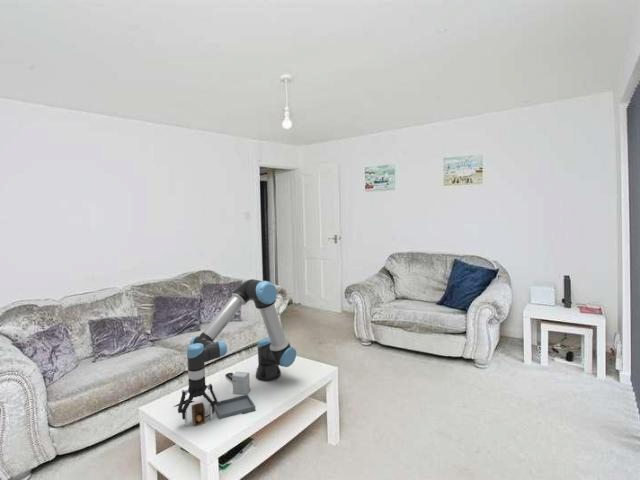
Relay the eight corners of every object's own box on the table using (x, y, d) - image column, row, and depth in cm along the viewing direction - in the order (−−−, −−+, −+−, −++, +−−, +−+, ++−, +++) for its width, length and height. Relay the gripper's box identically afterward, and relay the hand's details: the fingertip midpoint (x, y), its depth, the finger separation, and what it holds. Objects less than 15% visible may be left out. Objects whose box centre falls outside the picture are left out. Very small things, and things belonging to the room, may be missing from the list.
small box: (250, 390, 206) (249, 372, 205) (245, 395, 200) (244, 376, 200) (237, 389, 208) (236, 371, 207) (232, 393, 202) (231, 375, 202)
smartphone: (196, 403, 194) (196, 401, 193) (169, 419, 179) (169, 417, 179) (187, 400, 197) (187, 398, 197) (160, 415, 183) (160, 413, 183)
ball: (201, 416, 177) (201, 412, 176) (202, 422, 175) (202, 418, 173) (194, 418, 176) (195, 414, 174) (195, 424, 173) (196, 419, 172)
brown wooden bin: (203, 418, 178) (202, 402, 178) (205, 424, 173) (204, 408, 172) (192, 421, 176) (191, 405, 176) (194, 427, 171) (193, 411, 170)
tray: (247, 398, 197) (247, 394, 196) (255, 410, 184) (255, 405, 184) (213, 407, 188) (213, 402, 188) (219, 420, 176) (219, 415, 176)
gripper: (219, 368, 182) (221, 411, 183) (169, 379, 171) (172, 424, 173) (223, 374, 175) (225, 418, 176) (171, 385, 164) (173, 432, 166)
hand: (198, 421), depth 174 cm, fingers open, 11 cm apart
